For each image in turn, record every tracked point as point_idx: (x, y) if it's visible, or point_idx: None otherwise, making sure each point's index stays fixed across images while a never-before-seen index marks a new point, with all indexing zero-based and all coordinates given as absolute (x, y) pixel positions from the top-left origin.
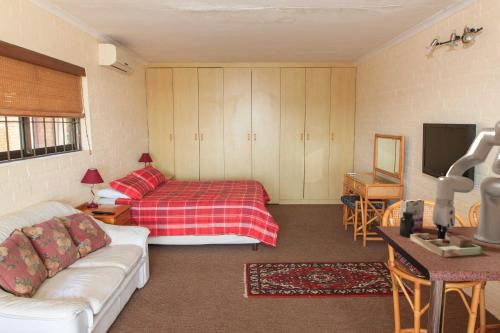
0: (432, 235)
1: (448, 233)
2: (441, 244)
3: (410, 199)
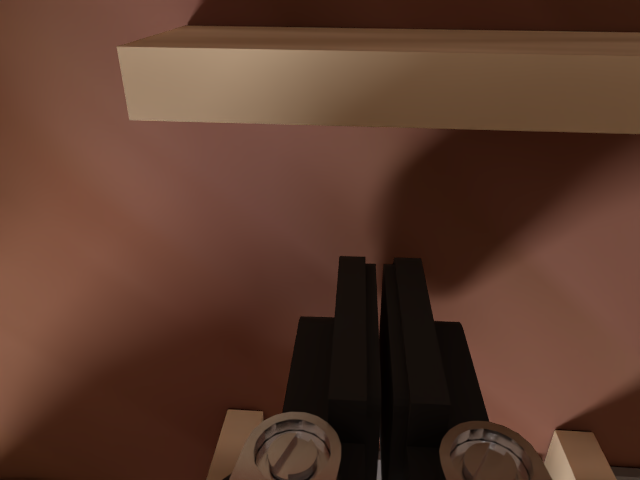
0: (13, 195)
1: (274, 58)
2: (600, 467)
3: None
